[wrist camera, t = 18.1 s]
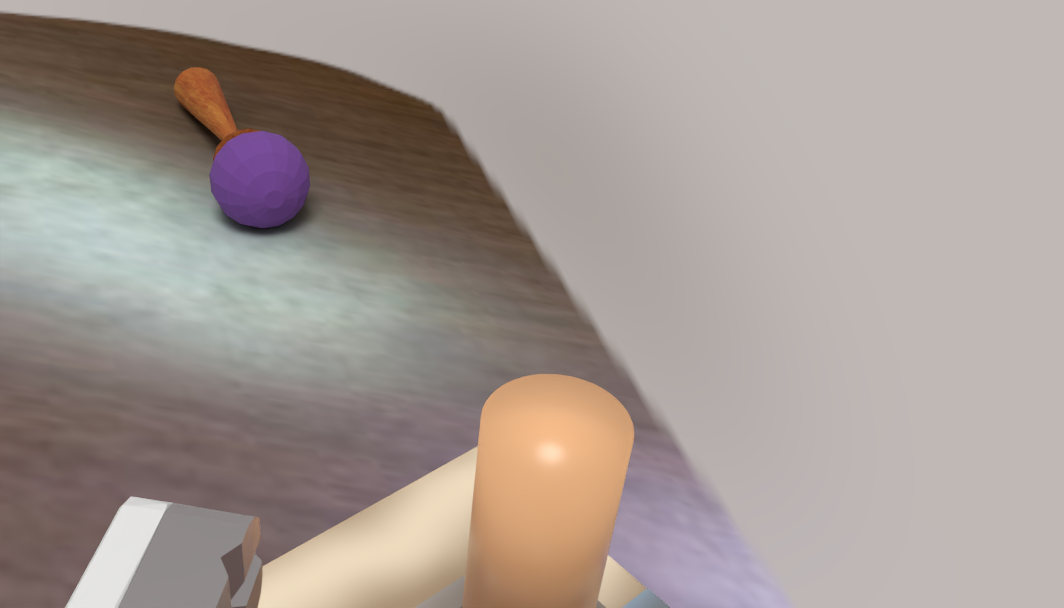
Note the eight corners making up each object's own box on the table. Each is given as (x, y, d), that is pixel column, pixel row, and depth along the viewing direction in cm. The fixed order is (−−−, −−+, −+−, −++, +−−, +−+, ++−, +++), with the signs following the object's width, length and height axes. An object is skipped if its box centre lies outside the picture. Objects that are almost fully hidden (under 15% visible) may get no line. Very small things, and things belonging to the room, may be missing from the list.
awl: (427, 707, 35) (449, 413, 27) (514, 642, 38) (559, 355, 30) (505, 797, 33) (556, 505, 25) (593, 722, 36) (665, 434, 27)
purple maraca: (241, 53, 75) (328, 155, 60) (233, 128, 78) (315, 243, 63) (157, 45, 72) (229, 151, 57) (152, 124, 74) (219, 244, 60)
